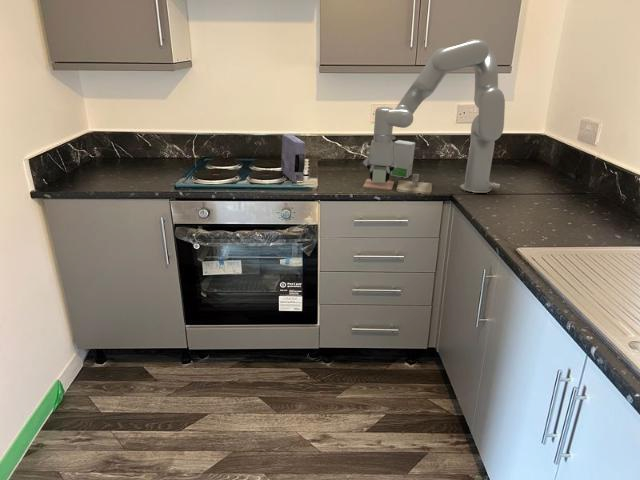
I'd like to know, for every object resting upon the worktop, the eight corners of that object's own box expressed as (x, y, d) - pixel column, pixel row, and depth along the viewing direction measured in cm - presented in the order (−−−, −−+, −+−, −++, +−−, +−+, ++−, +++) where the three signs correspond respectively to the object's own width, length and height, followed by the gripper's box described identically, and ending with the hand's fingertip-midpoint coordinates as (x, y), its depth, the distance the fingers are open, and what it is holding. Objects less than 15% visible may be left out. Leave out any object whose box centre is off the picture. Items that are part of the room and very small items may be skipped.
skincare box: (390, 176, 226) (393, 141, 220) (395, 173, 232) (398, 139, 226) (407, 178, 223) (411, 144, 217) (412, 175, 228) (415, 141, 222)
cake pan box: (305, 183, 211) (306, 141, 204) (294, 184, 209) (294, 142, 202) (291, 172, 227) (291, 133, 221) (280, 172, 226) (280, 133, 219)
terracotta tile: (394, 182, 216) (394, 181, 216) (391, 190, 205) (391, 188, 205) (366, 180, 218) (367, 178, 218) (362, 187, 207) (362, 186, 207)
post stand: (431, 185, 213) (433, 171, 211) (430, 194, 201) (432, 180, 199) (399, 182, 216) (400, 169, 214) (396, 191, 204) (397, 177, 201)
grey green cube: (386, 179, 213) (387, 167, 211) (385, 182, 208) (386, 170, 206) (373, 178, 214) (374, 166, 212) (372, 181, 209) (373, 169, 207)
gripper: (404, 138, 206) (400, 180, 213) (363, 135, 209) (360, 177, 216) (402, 141, 199) (398, 185, 206) (360, 138, 202) (358, 181, 209)
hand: (379, 180), depth 211 cm, fingers closed on grey green cube, 5 cm apart
